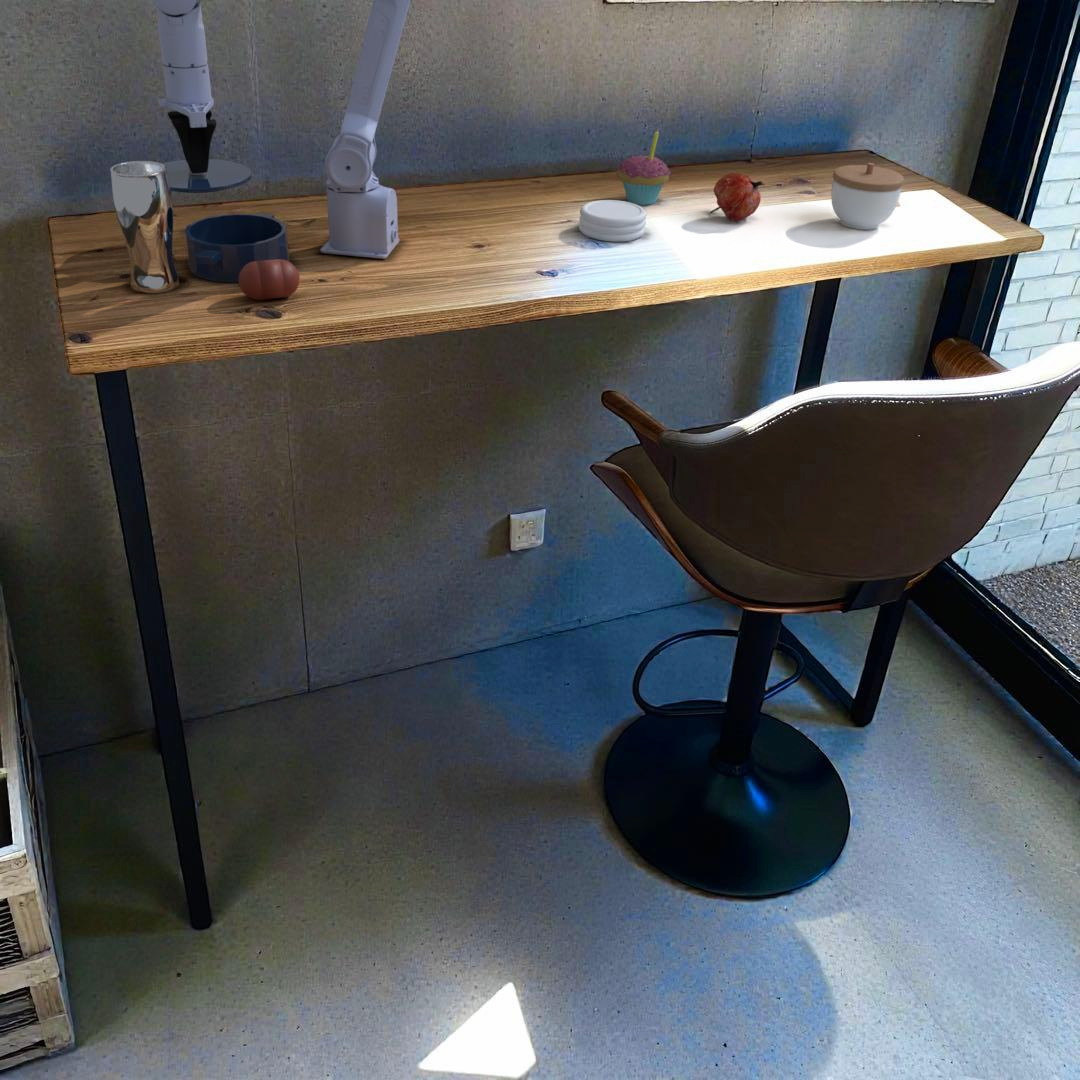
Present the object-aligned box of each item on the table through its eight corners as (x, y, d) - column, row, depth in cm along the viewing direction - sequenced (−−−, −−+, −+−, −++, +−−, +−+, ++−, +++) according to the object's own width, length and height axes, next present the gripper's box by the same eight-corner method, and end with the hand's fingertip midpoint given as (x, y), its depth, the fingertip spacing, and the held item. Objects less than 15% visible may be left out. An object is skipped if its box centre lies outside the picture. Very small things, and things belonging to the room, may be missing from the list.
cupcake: (675, 199, 191) (683, 124, 185) (651, 212, 185) (658, 134, 179) (630, 189, 195) (636, 115, 189) (604, 201, 189) (610, 125, 182)
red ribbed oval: (296, 288, 152) (293, 252, 150) (304, 301, 148) (301, 265, 146) (237, 293, 150) (233, 257, 147) (243, 307, 146) (239, 270, 143)
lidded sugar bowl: (842, 235, 179) (853, 174, 174) (814, 213, 188) (824, 154, 183) (905, 233, 181) (919, 173, 176) (875, 212, 190) (887, 153, 185)
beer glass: (133, 275, 154) (115, 159, 145) (187, 275, 154) (172, 160, 146) (122, 294, 148) (102, 175, 140) (178, 295, 148) (162, 176, 140)
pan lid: (269, 173, 164) (266, 141, 162) (223, 201, 153) (219, 168, 151) (176, 162, 167) (172, 131, 165) (124, 189, 155) (119, 157, 153)
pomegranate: (706, 235, 184) (756, 208, 177) (689, 191, 183) (739, 162, 176) (730, 230, 189) (781, 203, 182) (714, 187, 189) (764, 159, 182)
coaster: (565, 230, 176) (566, 207, 174) (607, 217, 182) (609, 194, 180) (616, 247, 171) (617, 224, 169) (657, 233, 177) (660, 210, 175)
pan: (312, 249, 165) (309, 214, 162) (254, 295, 150) (250, 257, 147) (226, 238, 167) (222, 203, 164) (160, 282, 152) (155, 245, 149)
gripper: (147, 53, 156) (161, 156, 163) (159, 76, 145) (174, 186, 152) (201, 52, 158) (212, 153, 166) (217, 74, 147) (228, 182, 154)
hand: (197, 169), depth 159 cm, fingers closed on pan lid, 2 cm apart
